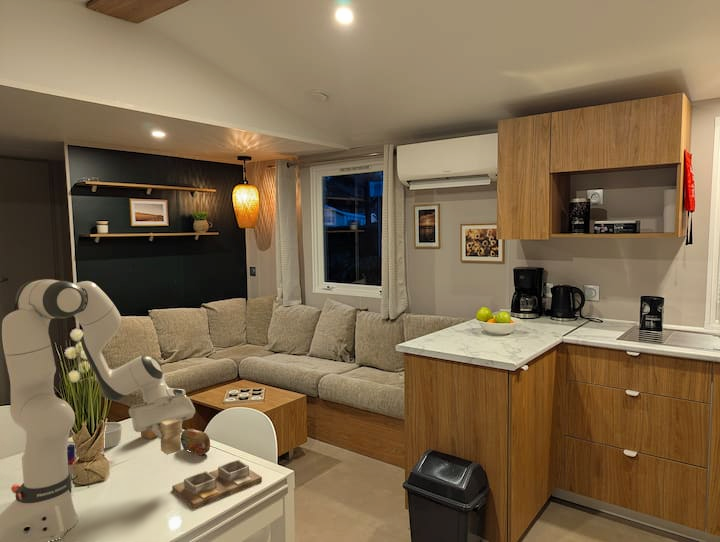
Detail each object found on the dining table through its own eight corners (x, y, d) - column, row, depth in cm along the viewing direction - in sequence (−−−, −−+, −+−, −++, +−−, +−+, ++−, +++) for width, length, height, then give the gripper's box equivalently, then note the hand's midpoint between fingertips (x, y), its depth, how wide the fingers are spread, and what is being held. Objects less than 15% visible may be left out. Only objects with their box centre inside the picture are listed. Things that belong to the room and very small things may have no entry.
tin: (180, 449, 198) (179, 428, 198) (187, 446, 201) (186, 425, 200) (205, 458, 190) (204, 436, 189) (212, 454, 192) (211, 433, 192)
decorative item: (154, 431, 217) (152, 385, 216) (163, 434, 213) (161, 388, 212) (140, 436, 212) (137, 389, 210) (149, 439, 208) (146, 392, 207)
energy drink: (70, 482, 173) (67, 448, 172) (56, 480, 174) (54, 447, 174) (81, 474, 179) (79, 441, 178) (68, 473, 180) (66, 440, 179)
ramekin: (116, 435, 214) (115, 419, 214) (127, 444, 205) (126, 427, 204) (82, 445, 205) (80, 428, 204) (92, 454, 195) (91, 437, 195)
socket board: (193, 508, 154) (193, 494, 154) (172, 490, 166) (171, 477, 166) (261, 481, 170) (261, 468, 170) (237, 466, 182) (237, 454, 182)
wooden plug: (166, 454, 166) (165, 424, 165) (161, 450, 169) (159, 421, 169) (181, 450, 169) (179, 421, 168) (175, 446, 172) (173, 417, 172)
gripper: (129, 401, 166) (141, 439, 159) (188, 388, 180) (202, 422, 173) (125, 411, 169) (136, 448, 163) (184, 398, 183) (197, 431, 177)
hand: (171, 435), depth 168 cm, fingers closed on wooden plug, 5 cm apart
